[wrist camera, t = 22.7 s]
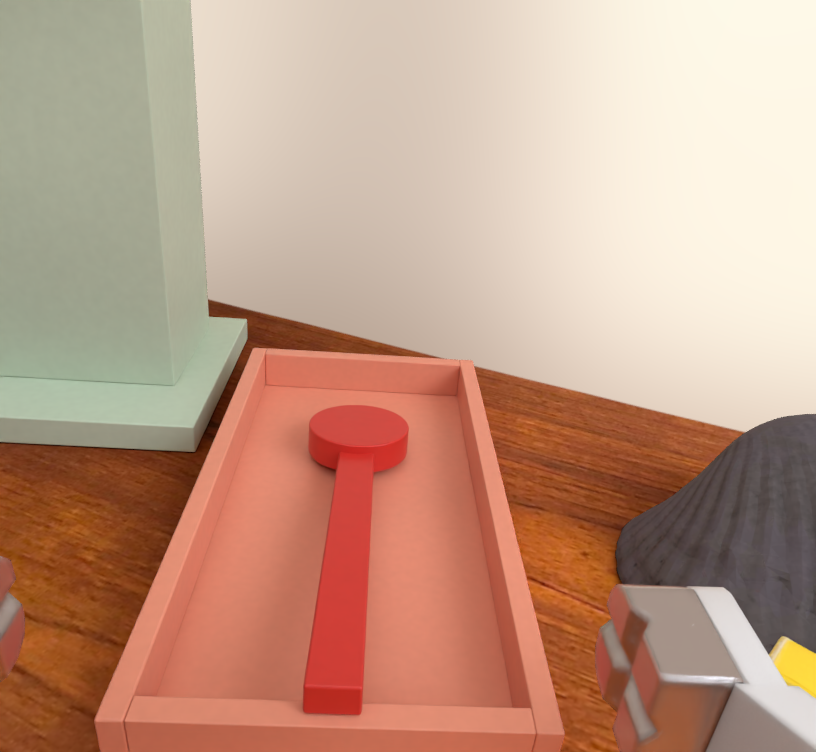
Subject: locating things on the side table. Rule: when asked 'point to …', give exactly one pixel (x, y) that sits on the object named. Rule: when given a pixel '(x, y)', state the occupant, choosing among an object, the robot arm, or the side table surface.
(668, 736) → the robot arm
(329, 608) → the red spoon
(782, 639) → the candy box
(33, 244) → the stand
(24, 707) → the side table surface
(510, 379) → the side table surface
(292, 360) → the tray
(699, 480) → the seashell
